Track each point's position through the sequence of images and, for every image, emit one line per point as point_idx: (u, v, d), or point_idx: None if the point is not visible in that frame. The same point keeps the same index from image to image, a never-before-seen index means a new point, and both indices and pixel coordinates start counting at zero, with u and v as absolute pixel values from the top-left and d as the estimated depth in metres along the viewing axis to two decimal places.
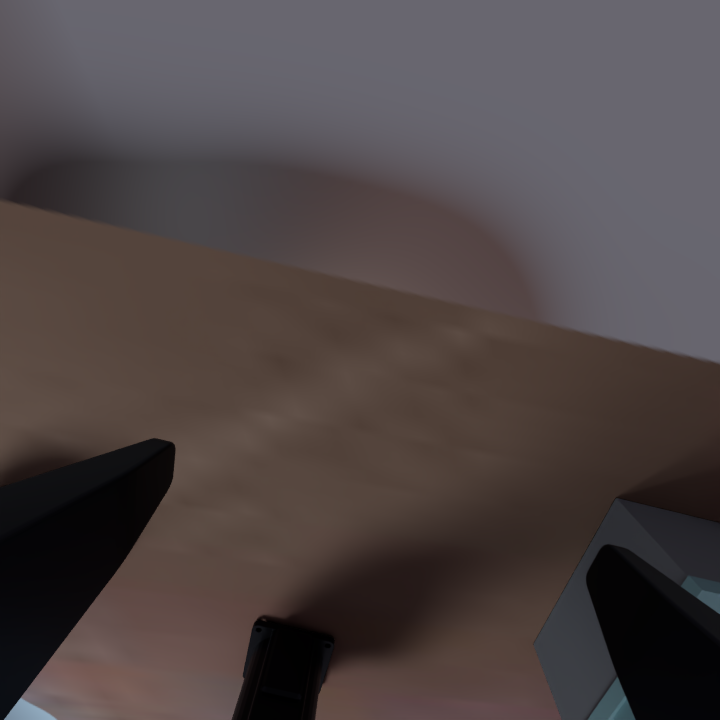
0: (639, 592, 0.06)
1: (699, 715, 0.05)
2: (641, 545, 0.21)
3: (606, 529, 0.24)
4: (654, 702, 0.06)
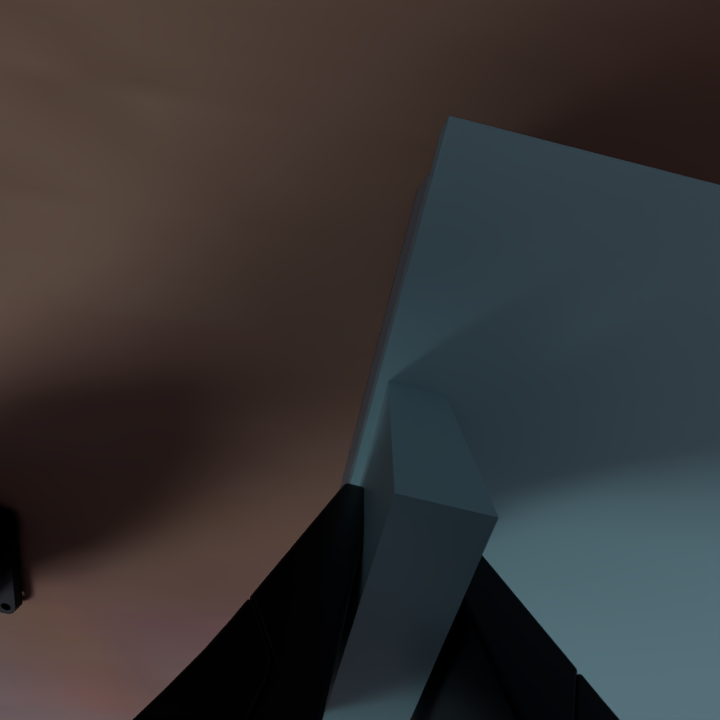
0: None
1: None
2: (419, 208, 0.10)
3: (402, 251, 0.13)
4: None
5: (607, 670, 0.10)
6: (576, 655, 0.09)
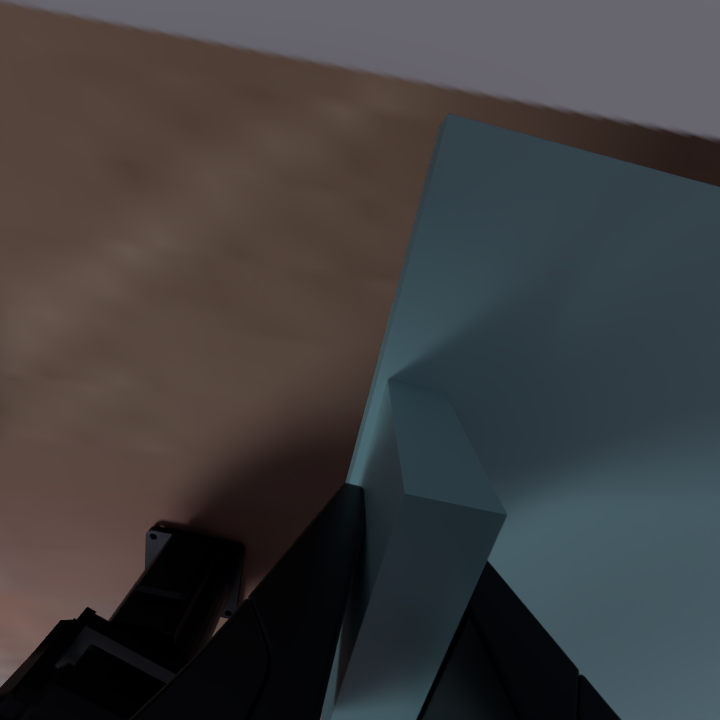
0: None
1: None
2: None
3: None
4: None
5: (600, 657, 0.10)
6: (571, 644, 0.10)
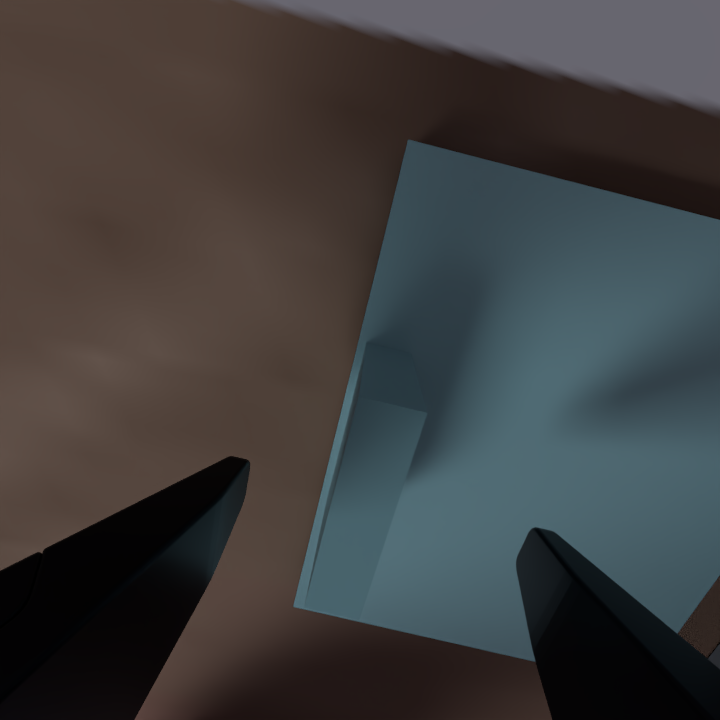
0: (555, 573, 0.06)
1: (597, 692, 0.05)
2: None
3: None
4: (564, 681, 0.06)
5: None
6: None
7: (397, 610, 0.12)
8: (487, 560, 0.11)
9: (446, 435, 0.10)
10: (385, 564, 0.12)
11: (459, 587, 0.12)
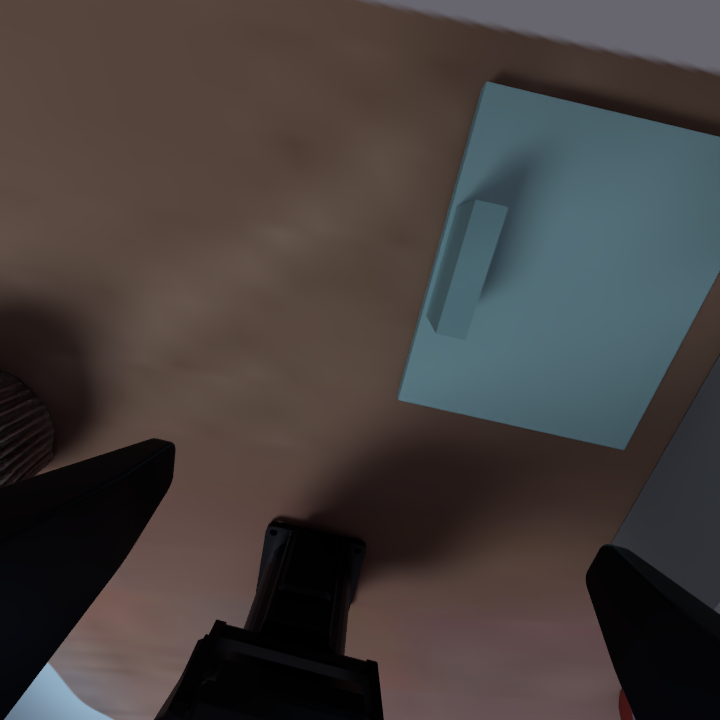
0: (639, 592, 0.06)
1: (699, 715, 0.05)
2: None
3: None
4: (654, 701, 0.06)
5: (564, 375, 0.18)
6: (547, 365, 0.18)
7: (466, 398, 0.19)
8: (525, 357, 0.18)
9: (502, 267, 0.17)
10: (460, 363, 0.19)
11: (507, 379, 0.19)
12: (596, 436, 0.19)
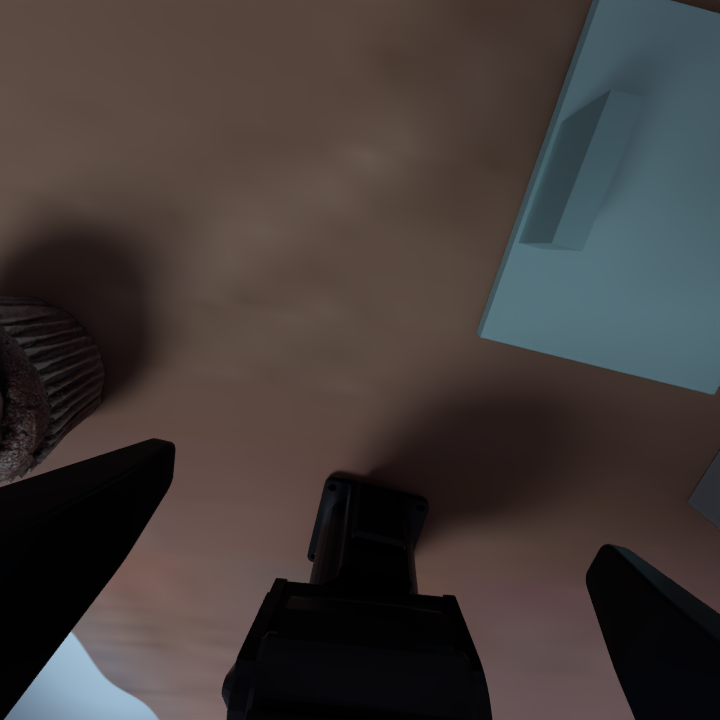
0: (639, 592, 0.06)
1: (699, 715, 0.05)
2: None
3: None
4: (654, 701, 0.06)
5: (658, 310, 0.18)
6: (642, 300, 0.17)
7: (552, 336, 0.18)
8: (619, 290, 0.17)
9: None
10: (549, 297, 0.18)
11: (597, 314, 0.18)
12: (686, 378, 0.19)
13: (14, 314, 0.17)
